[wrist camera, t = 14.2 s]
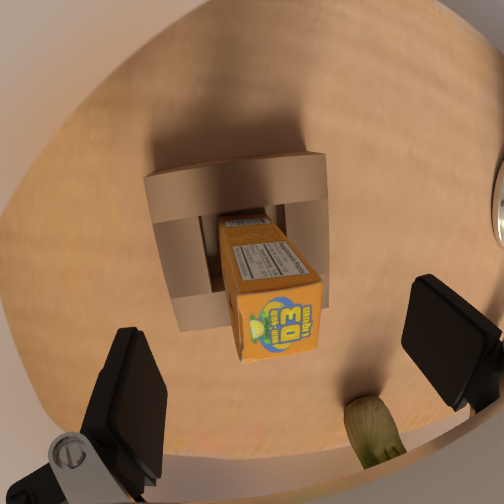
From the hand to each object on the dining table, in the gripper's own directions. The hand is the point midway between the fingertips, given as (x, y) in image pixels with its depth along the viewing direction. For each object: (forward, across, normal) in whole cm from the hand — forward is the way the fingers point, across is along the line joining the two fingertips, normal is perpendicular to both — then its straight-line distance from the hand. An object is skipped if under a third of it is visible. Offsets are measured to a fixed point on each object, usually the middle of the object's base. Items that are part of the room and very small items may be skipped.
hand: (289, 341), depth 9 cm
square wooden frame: (+12, 0, 0) cm, 12 cm away
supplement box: (+11, 0, 0) cm, 11 cm away
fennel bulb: (+12, -11, +23) cm, 28 cm away
